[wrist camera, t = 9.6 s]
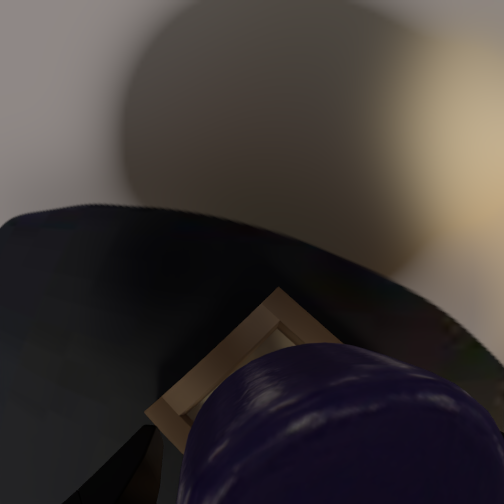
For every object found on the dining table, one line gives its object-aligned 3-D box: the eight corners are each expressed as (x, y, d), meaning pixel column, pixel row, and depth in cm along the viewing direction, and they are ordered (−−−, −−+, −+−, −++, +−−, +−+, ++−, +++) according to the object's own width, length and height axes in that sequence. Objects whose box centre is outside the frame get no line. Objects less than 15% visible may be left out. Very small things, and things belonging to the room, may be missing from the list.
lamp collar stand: (278, 520, 14) (282, 537, 11) (157, 411, 17) (141, 411, 14) (391, 402, 17) (412, 401, 15) (274, 300, 21) (278, 284, 18)
